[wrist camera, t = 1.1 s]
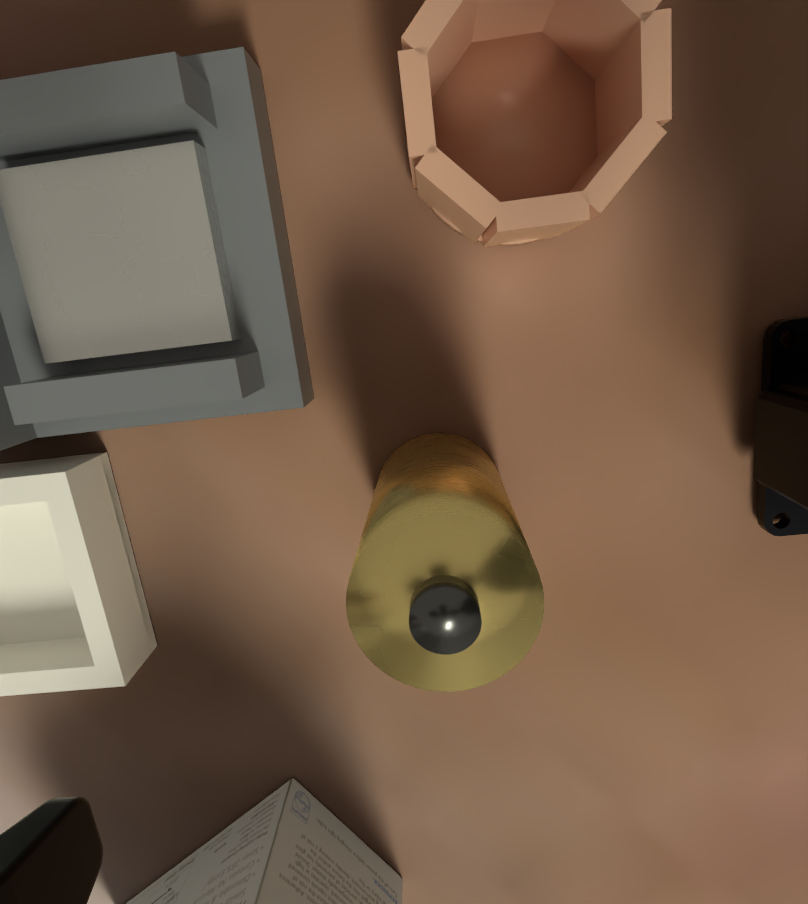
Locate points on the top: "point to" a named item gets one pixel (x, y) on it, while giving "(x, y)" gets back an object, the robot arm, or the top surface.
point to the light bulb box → (280, 861)
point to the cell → (443, 570)
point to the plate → (120, 252)
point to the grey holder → (243, 230)
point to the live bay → (67, 579)
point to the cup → (531, 109)
